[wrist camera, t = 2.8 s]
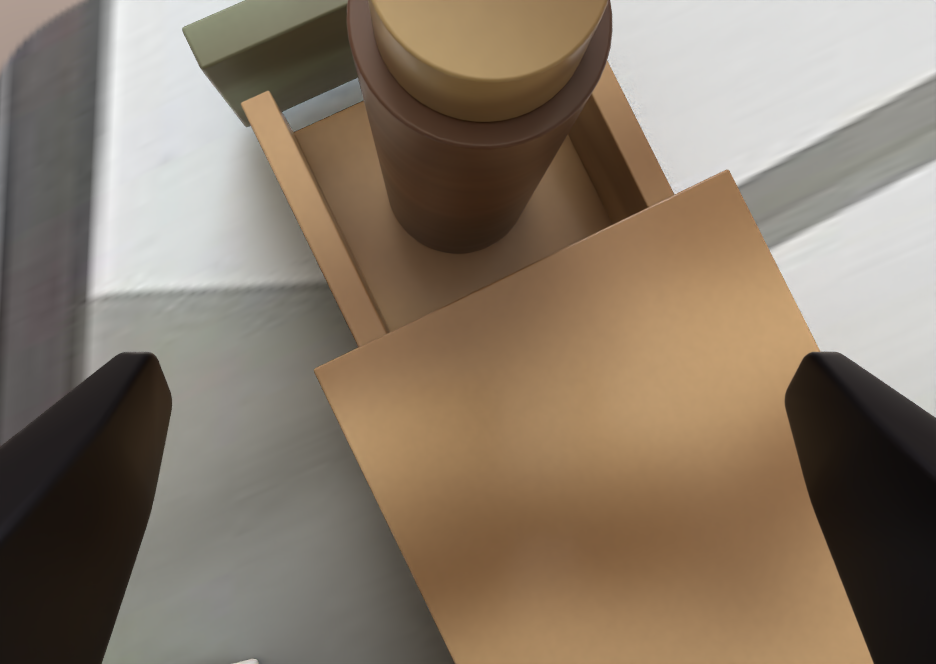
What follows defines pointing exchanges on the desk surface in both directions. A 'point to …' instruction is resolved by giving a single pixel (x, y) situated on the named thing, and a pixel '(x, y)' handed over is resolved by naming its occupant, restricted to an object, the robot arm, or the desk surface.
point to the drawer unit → (607, 453)
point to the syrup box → (248, 662)
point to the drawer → (360, 177)
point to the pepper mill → (472, 104)
